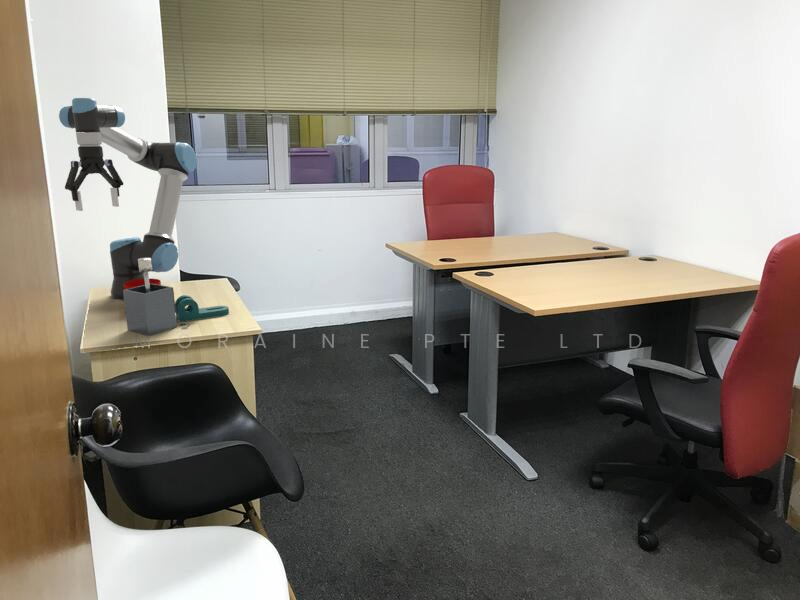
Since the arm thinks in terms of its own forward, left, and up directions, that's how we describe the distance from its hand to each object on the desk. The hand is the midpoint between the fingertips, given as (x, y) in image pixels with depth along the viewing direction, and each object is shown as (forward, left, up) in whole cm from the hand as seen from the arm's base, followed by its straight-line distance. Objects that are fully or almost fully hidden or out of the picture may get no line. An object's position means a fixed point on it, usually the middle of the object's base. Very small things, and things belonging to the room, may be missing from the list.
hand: (98, 208), depth 219 cm
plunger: (+3, +27, -32) cm, 42 cm away
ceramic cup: (-13, +4, -39) cm, 41 cm away
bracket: (-17, +30, -39) cm, 52 cm away
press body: (+1, +27, -39) cm, 47 cm away
